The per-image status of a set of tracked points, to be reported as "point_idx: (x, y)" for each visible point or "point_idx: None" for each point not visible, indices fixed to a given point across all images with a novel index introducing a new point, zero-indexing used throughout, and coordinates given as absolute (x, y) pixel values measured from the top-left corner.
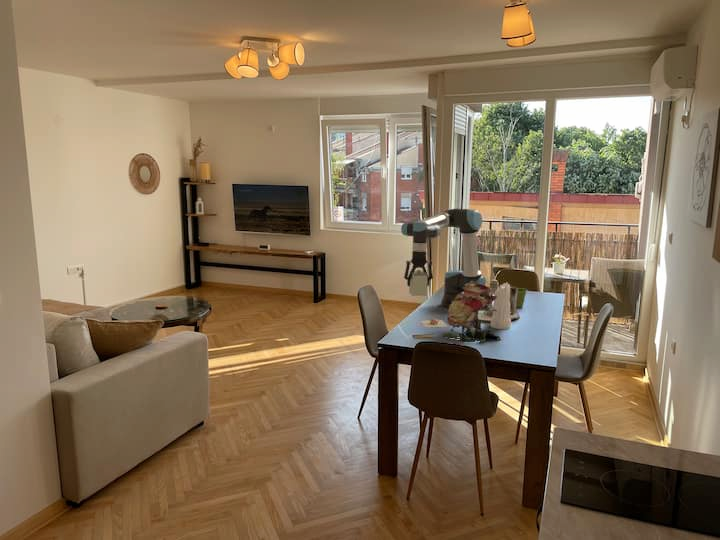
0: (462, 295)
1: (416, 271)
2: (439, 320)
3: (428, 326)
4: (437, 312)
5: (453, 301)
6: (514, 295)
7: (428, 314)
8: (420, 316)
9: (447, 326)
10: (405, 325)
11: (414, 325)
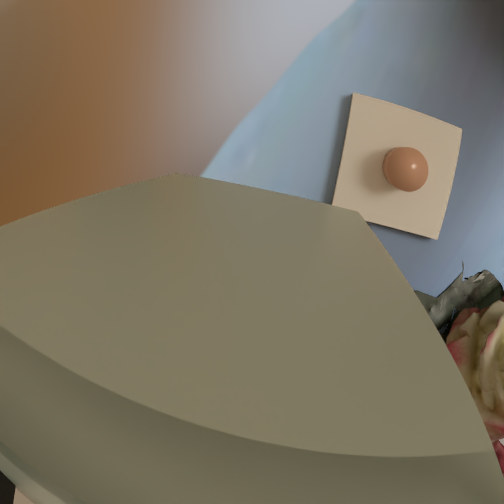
0: (495, 439)
1: (18, 469)
2: (449, 130)
3: (349, 207)
4: (481, 2)
5: (481, 366)
6: None
7: (438, 2)
8: (391, 9)
9: (433, 238)
10: (253, 124)
11: (300, 136)
